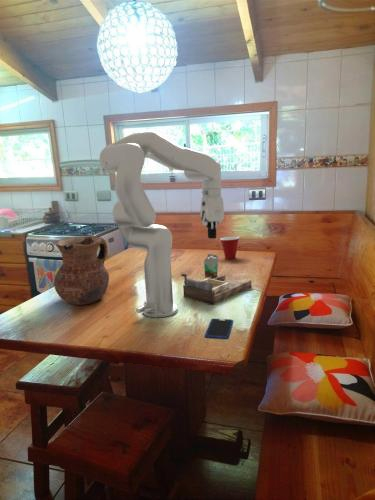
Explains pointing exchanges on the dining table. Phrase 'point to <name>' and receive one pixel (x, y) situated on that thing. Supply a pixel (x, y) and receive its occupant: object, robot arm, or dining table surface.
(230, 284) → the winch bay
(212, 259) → the food container
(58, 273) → the jug
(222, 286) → the crate
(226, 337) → the cell phone
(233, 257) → the plastic cup
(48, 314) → the dining table surface
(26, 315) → the dining table surface
